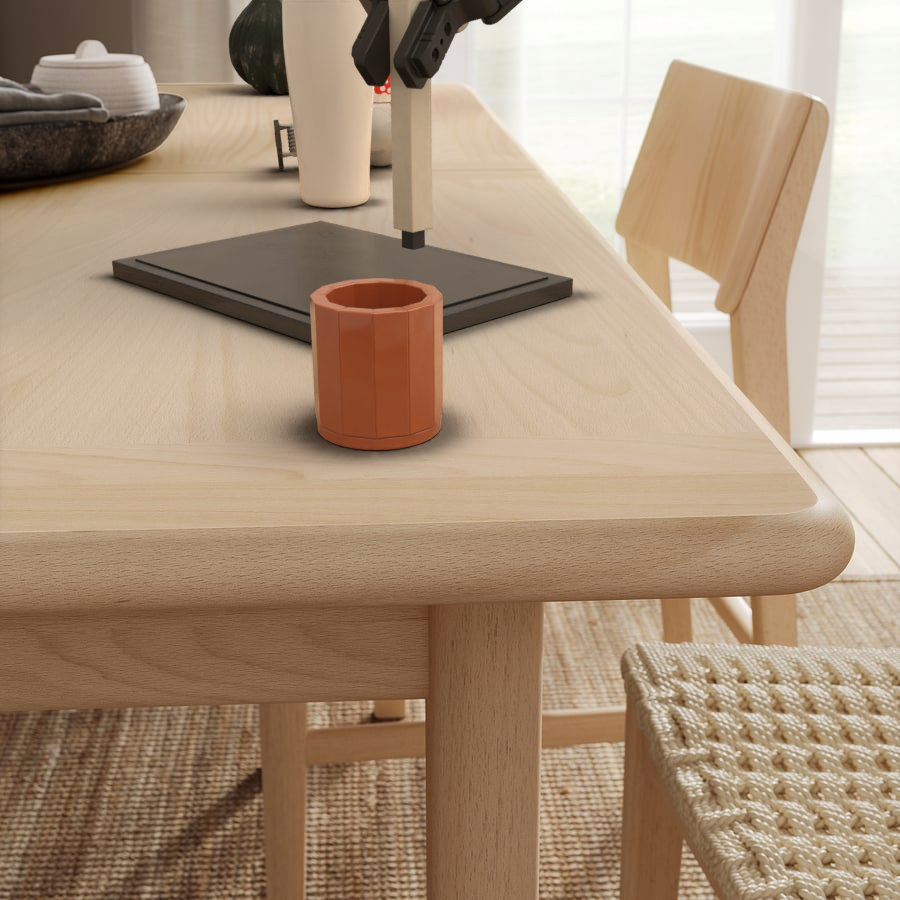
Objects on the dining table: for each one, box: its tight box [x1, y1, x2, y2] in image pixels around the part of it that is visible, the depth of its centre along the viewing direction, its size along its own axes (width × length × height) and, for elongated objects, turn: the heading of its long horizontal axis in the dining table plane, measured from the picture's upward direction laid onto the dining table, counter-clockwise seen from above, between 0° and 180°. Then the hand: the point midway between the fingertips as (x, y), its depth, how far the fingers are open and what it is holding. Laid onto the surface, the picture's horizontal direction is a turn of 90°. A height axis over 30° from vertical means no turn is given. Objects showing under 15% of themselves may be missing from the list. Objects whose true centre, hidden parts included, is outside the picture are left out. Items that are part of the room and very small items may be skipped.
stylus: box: [388, 0, 434, 250], centre depth 60 cm, size 2×2×13 cm
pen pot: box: [310, 278, 444, 451], centre depth 46 cm, size 5×5×6 cm
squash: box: [228, 0, 289, 95], centre depth 162 cm, size 14×15×15 cm
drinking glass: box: [282, 0, 374, 209], centre depth 87 cm, size 7×7×15 cm
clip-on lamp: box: [273, 106, 392, 170], centre depth 106 cm, size 12×6×18 cm
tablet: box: [111, 220, 574, 344], centre depth 67 cm, size 22×16×1 cm
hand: (387, 75), depth 57 cm, fingers closed on stylus, 2 cm apart
